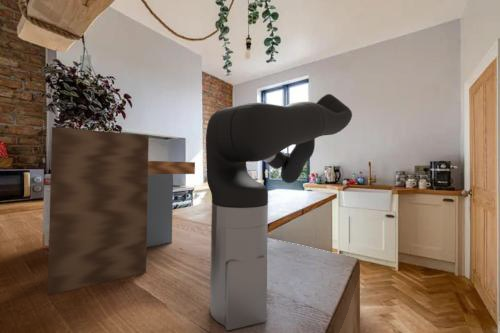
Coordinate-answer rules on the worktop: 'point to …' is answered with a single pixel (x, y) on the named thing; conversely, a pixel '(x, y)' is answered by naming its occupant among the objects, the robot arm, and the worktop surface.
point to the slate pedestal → (159, 209)
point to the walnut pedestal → (96, 207)
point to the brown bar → (171, 167)
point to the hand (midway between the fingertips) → (231, 122)
